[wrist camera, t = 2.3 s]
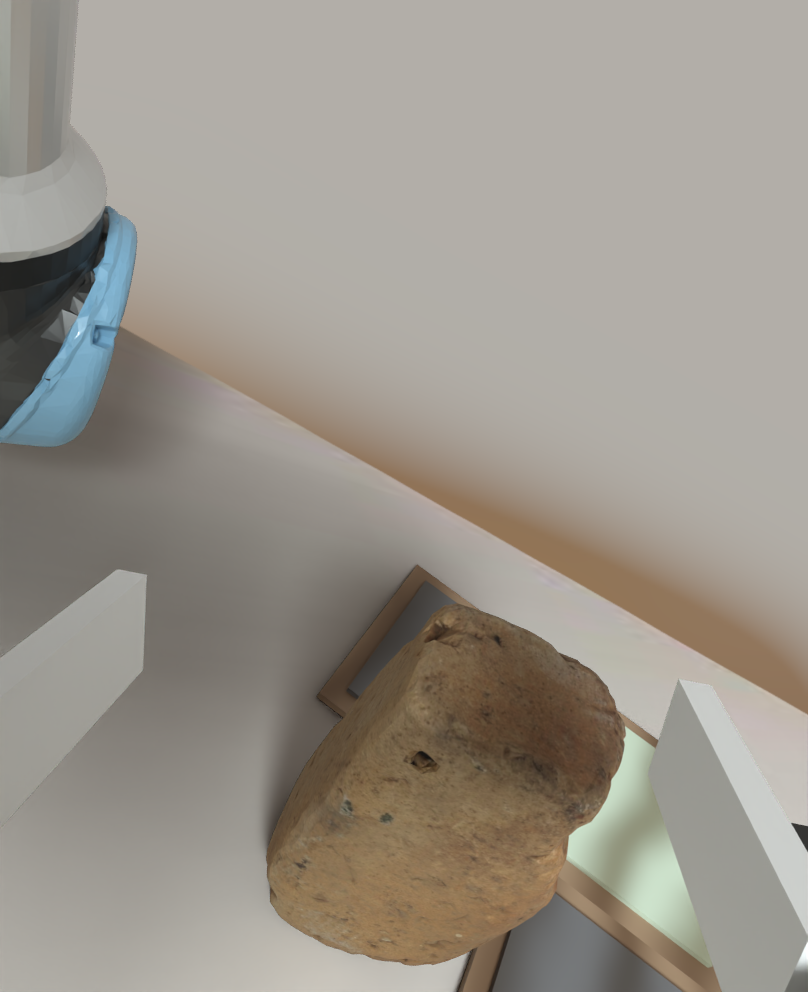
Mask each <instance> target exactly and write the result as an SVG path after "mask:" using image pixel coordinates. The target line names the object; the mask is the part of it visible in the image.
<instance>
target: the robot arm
mask: <svg viewBox="0 0 808 992" xmlns="http://www.w3.org/2000/svg"><path fill="white" fill-rule="evenodd" d="M78 2H79V0H0V443H10V444H20V445H30V446H40V447H56V446H60V445H63V444H66V443H68V442H70V441H72V440H73V439H74V438H76V437H77V436H78V435H79V434H80V433H81V432H82V431H83V429H84V428H85V426H86V425H87V423H88V421H89V419H90V417H91V415H92V413H93V411H94V409H95V406H96V403H97V401H98V398H99V396H100V393H101V390H102V387H103V384H104V381H105V378H106V375H107V372H108V369H109V365H110V362H111V358H112V355H113V350H114V338H115V337H116V336H117V334H118V330H119V326H120V322H121V320H122V317H123V314H124V311H125V307H126V303H127V298H128V294H129V289H130V285H131V280H132V275H133V270H134V264H135V257H136V247H137V232H136V228H135V226H134V224H133V223H132V222H131V221H130V220H129V219H127V218H126V217H124V216H122V215H119V214H118V213H117V212H116V211H115V210H114V209H112V208H111V207H110V206H105V205H106V196H107V187H106V181H105V175H104V172H103V168H102V166H101V164H100V162H99V160H98V158H97V156H96V154H95V153H94V151H93V150H92V149H91V147H90V146H89V145H88V143H87V142H86V141H85V140H84V138H83V137H82V136H81V135H80V134H79V133H78V132H77V131H76V130H75V129H74V128H73V127H72V126H71V125H70V113H71V99H72V85H73V71H74V58H75V44H76V29H77V16H78ZM146 582H147V575H145V574H140V573H135V572H130V571H125V570H120V569H117V570H115V571H114V572H113V573H111V574H110V575H109V576H107V577H106V578H105V579H104V580H102V581H101V582H100V583H98V584H97V585H96V586H94V587H93V588H92V589H90V590H89V591H88V592H86V593H85V594H84V595H82V596H81V597H80V598H78V599H77V600H76V601H74V602H73V603H72V604H70V605H69V606H68V607H67V608H65V609H64V610H63V611H61V612H60V613H59V614H57V615H56V616H55V617H53V618H52V619H51V620H49V621H48V622H47V623H45V624H44V625H43V626H41V627H40V628H39V629H37V630H36V631H35V632H34V633H32V634H31V635H30V636H28V637H27V638H26V639H24V640H23V641H22V642H20V643H19V644H18V645H16V646H15V647H14V648H12V649H11V650H10V651H8V652H7V653H6V654H4V655H3V656H2V657H0V829H1V827H2V826H3V825H4V824H5V823H6V822H7V821H8V820H9V819H10V817H11V816H12V815H13V814H14V813H15V812H16V811H17V810H18V809H19V807H20V806H21V805H22V804H23V803H24V802H25V801H26V800H27V799H28V797H29V796H30V795H31V794H32V793H33V792H34V791H35V790H36V789H37V787H38V786H39V785H40V784H41V783H42V782H43V781H44V780H45V779H46V777H47V776H48V775H49V774H50V773H51V772H52V771H53V770H54V769H55V767H56V766H57V765H58V764H59V763H60V762H61V761H62V760H63V759H64V757H65V756H66V755H67V754H68V753H69V752H70V751H71V750H72V749H73V747H74V746H75V745H76V744H77V743H78V742H79V741H80V740H81V739H82V737H83V736H84V735H85V734H86V733H87V732H88V731H89V730H90V729H91V727H92V726H93V725H94V724H95V723H96V722H97V721H98V720H99V719H100V717H101V716H102V715H103V714H104V713H105V712H106V711H107V710H108V709H109V707H110V706H111V705H112V704H113V703H114V702H115V701H116V700H117V699H118V697H119V696H120V695H121V694H122V693H123V692H124V691H125V690H126V689H127V687H128V686H129V685H130V684H131V683H132V682H133V681H134V680H135V679H136V677H137V676H138V675H139V674H140V673H141V672H142V671H143V662H144V636H145V609H146ZM648 776H649V779H650V782H651V785H652V788H653V791H654V794H655V797H656V800H657V803H658V805H659V808H660V811H661V814H662V817H663V820H664V823H665V826H666V829H667V832H668V835H669V838H670V841H671V844H672V847H673V850H674V853H675V855H676V858H677V861H678V864H679V867H680V870H681V873H682V876H683V879H684V882H685V885H686V888H687V891H688V894H689V897H690V900H691V903H692V905H693V908H694V911H695V914H696V917H697V920H698V923H699V926H700V929H701V932H702V935H703V938H704V941H705V944H706V947H707V950H708V953H709V955H710V958H711V961H712V964H713V967H714V970H715V973H716V976H717V979H718V982H719V985H720V988H721V991H722V992H808V826H804V825H799V824H794V823H791V822H790V821H789V819H788V817H787V815H786V814H785V812H784V810H783V808H782V807H781V805H780V803H779V801H778V800H777V798H776V796H775V795H774V793H773V791H772V789H771V788H770V786H769V784H768V782H767V781H766V779H765V777H764V776H763V774H762V772H761V770H760V769H759V767H758V765H757V763H756V762H755V760H754V758H753V756H752V755H751V753H750V751H749V750H748V748H747V746H746V744H745V743H744V741H743V739H742V737H741V736H740V734H739V732H738V731H737V729H736V727H735V725H734V724H733V722H732V720H731V718H730V717H729V715H728V713H727V712H726V710H725V708H724V706H723V705H722V703H721V701H720V699H719V698H718V696H717V694H716V692H715V691H714V689H713V687H712V686H711V685H707V684H702V683H697V682H692V681H687V680H682V679H678V682H677V685H676V688H675V691H674V694H673V697H672V701H671V704H670V707H669V710H668V713H667V716H666V719H665V722H664V725H663V728H662V731H661V734H660V737H659V740H658V743H657V746H656V749H655V753H654V756H653V759H652V762H651V765H650V768H649V771H648Z"/></svg>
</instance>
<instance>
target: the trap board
mask: <svg viewBox="0 0 808 992" xmlns="http://www.w3.org/2000/svg"><path fill="white" fill-rule="evenodd" d="M456 603H458V604H461V605H464V606H467V607H470V608H473V609H476V610H479V609H477V608H476V607H475V606H473V605H472V604H470V603H469V602H468V601H466V600H465V599H464V598H462V597H461V596H459V595H458V594H457V593H455V592H454V591H453V590H451V589H450V588H449V587H447V586H446V585H444V584H443V583H442V582H440V581H439V580H438V579H436V578H435V577H433V576H432V575H431V574H429V573H428V572H427V571H425V570H424V569H423V568H421V567H420V566H418V565H417V566H416V567H415V569H414V570H413V571H412V572H411V574H410V575H409V576H408V578H407V579H406V580H405V582H404V583H403V584H402V585H401V587H400V588H399V589H398V591H397V592H396V593H395V595H394V596H393V597H392V598H391V600H390V601H389V602H388V604H387V605H386V606H385V608H384V609H383V610H382V611H381V613H380V614H379V615H378V617H377V618H376V619H375V621H374V622H373V623H372V624H371V626H370V627H369V628H368V630H367V631H366V632H365V634H364V635H363V636H362V638H361V639H360V640H359V641H358V643H357V644H356V645H355V647H354V648H353V649H352V651H351V652H350V653H349V654H348V656H347V657H346V658H345V660H344V661H343V662H342V664H341V665H340V666H339V667H338V669H337V670H336V671H335V673H334V674H333V675H332V677H331V678H330V679H329V680H328V682H327V683H326V684H325V686H324V687H323V688H322V690H321V691H320V692H319V694H318V695H317V698H318V699H320V700H321V701H322V702H323V703H325V704H326V705H327V706H329V707H330V708H331V709H333V710H334V711H335V712H336V713H338V714H339V715H340V716H342V717H343V718H344V716H345V715H346V714H347V712H348V711H349V710H350V708H351V707H352V706H353V704H354V703H355V702H356V700H357V699H358V698H359V696H360V695H361V694H362V693H363V691H364V690H365V689H366V688H367V687H368V686H369V684H370V683H371V682H372V681H373V680H374V678H375V677H376V676H377V675H378V674H379V672H380V671H381V670H382V669H383V668H384V667H385V666H386V665H387V663H388V662H389V661H390V660H391V659H392V658H393V657H394V656H395V655H396V654H397V653H398V652H399V651H400V650H401V649H402V647H403V646H404V645H406V644H407V643H409V642H410V641H412V640H414V638H415V637H416V636H417V635H418V633H419V632H420V631H421V629H422V628H423V627H424V625H425V624H426V623H427V621H428V620H429V618H430V617H431V615H432V614H433V613H435V612H436V611H437V610H439V609H440V608H442V607H443V606H445V605H450V604H456ZM479 611H480V610H479ZM617 712H618V711H617ZM618 714H619V715H620V717H621V718H622V720H623V722H624V724H625V730H626V736H625V738H624V743H625V747H624V752H623V757H622V761H621V764H620V767H619V769H618V771H617V773H616V774H615V776H614V777H613V778H612V780H611V788H610V791H609V794H608V797H607V799H606V801H605V803H604V804H603V806H602V808H601V810H600V811H599V813H598V814H597V815H596V816H595V818H594V819H593V820H592V822H590V823H588V824H586V825H583V826H581V827H579V828H577V829H576V830H575V831H574V832H573V833H572V834H571V835H569V841H568V851H567V858H566V861H565V863H564V865H563V867H562V869H561V871H560V872H559V875H558V880H557V889H556V891H555V893H554V895H553V897H552V899H551V901H550V902H549V903H548V904H547V905H546V906H545V907H543V908H542V909H541V910H540V911H538V912H537V913H536V914H535V915H534V916H533V917H531V918H529V919H528V920H526V921H524V922H523V923H521V924H520V925H518V926H517V927H515V928H513V929H511V930H509V931H508V932H506V933H504V934H502V935H500V936H497V937H496V938H494V939H492V940H490V941H489V942H487V943H485V944H483V945H481V946H478V947H476V948H474V949H473V951H472V954H471V956H470V959H469V962H468V965H467V968H466V971H465V973H464V976H463V979H462V982H461V985H460V988H459V990H458V992H722V991H721V988H720V985H719V982H718V979H717V976H716V973H715V970H714V967H713V964H712V961H711V958H710V955H709V953H708V950H707V947H706V944H705V941H704V938H703V935H702V932H701V929H700V926H699V923H698V920H697V917H696V914H695V911H694V908H693V905H692V903H691V900H690V897H689V894H688V891H687V888H686V885H685V882H684V879H683V876H682V873H681V870H680V867H679V864H678V861H677V858H676V855H675V853H674V850H673V847H672V844H671V841H670V838H669V835H668V832H667V829H666V826H665V823H664V820H663V817H662V814H661V811H660V808H659V805H658V803H657V800H656V797H655V794H654V791H653V788H652V785H651V782H650V779H649V776H648V771H649V768H650V765H651V762H652V759H653V756H654V753H655V749H656V746H657V743H658V740H657V739H655V738H654V737H652V736H651V735H650V734H648V733H647V732H646V731H644V730H643V729H641V728H640V727H639V726H637V725H636V724H635V723H633V722H632V721H631V720H629V719H628V718H626V717H625V716H624V715H622V714H621V713H620V712H618Z"/></svg>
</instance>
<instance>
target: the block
mask: <svg viewBox="0 0 808 992" xmlns="http://www.w3.org/2000/svg"><path fill="white" fill-rule="evenodd" d="M625 736H626V730H625V724H624V722H623V720H622V718H621V717H620V715H619V714H618V712H617V709H616V705H615V701H614V699H613V698H612V696H611V695H610V693H609V690H608V687H607V686H606V685H605V684H604V683H603V681H602V680H601V679H600V678H599V676H598V675H597V674H596V673H595V672H593V671H592V670H591V669H589V668H588V667H586V666H584V665H582V664H581V663H580V662H579V661H578V660H576V659H573V658H571V657H568V656H566V655H563V654H561V653H558V652H557V650H556V649H555V648H554V647H553V646H552V645H551V644H549V643H548V642H546V641H545V640H543V639H542V638H540V637H539V636H537V635H535V634H533V633H532V632H530V631H528V630H526V629H523V628H521V627H518V626H516V625H513V624H511V623H509V622H507V621H505V620H503V619H501V618H499V617H496V616H493V615H490V614H488V613H485V612H482V611H479V610H476V609H473V608H470V607H467V606H464V605H461V604H458V603H456V604H450V605H445V606H443V607H442V608H440V609H439V610H437V611H436V612H435V613H433V614H432V615H431V617H430V618H429V620H428V621H427V623H426V624H425V625H424V627H423V628H422V629H421V631H420V632H419V633H418V635H417V636H416V637H415V638H414V640H412V641H410V642H409V643H407V644H406V645H404V646H403V647H402V649H401V650H400V651H399V652H398V653H397V654H396V655H395V656H394V657H393V658H392V659H391V660H390V661H389V662H388V663H387V665H386V666H385V667H384V668H383V669H382V670H381V671H380V672H379V674H378V675H377V676H376V677H375V678H374V680H373V681H372V682H371V683H370V684H369V686H368V687H367V688H366V689H365V690H364V691H363V693H362V694H361V695H360V696H359V698H358V699H357V700H356V702H355V703H354V704H353V706H352V707H351V708H350V710H349V711H348V712H347V714H346V715H345V716H344V718H343V719H342V720H341V721H340V722H339V723H338V724H336V725H335V726H334V728H333V729H332V730H331V731H330V733H329V734H328V735H327V737H326V738H325V739H324V740H323V742H322V743H321V744H320V746H319V747H318V748H317V750H316V751H315V752H314V754H313V755H312V757H311V758H310V759H309V761H308V762H307V764H306V765H305V767H304V769H303V771H302V772H301V774H300V776H299V778H298V780H297V782H296V784H295V786H294V788H293V790H292V792H291V794H290V796H289V798H288V801H287V803H286V805H285V807H284V810H283V812H282V814H281V816H280V818H279V820H278V823H277V825H276V828H275V830H274V832H273V835H272V838H271V841H270V843H269V846H268V849H267V856H266V861H267V864H268V866H267V878H268V881H269V883H270V902H271V904H272V905H273V907H274V908H275V910H276V912H277V913H278V915H279V916H280V917H281V918H282V919H284V920H285V921H286V922H287V923H289V924H290V925H291V926H293V927H295V928H296V929H298V930H300V931H301V932H303V933H304V934H306V935H308V936H311V937H313V938H315V939H316V940H318V941H320V942H321V943H323V944H325V945H326V946H330V947H333V948H336V949H340V950H343V951H345V952H347V953H350V954H363V955H366V956H368V957H370V958H372V959H376V960H381V961H392V962H401V963H402V964H404V965H410V966H416V965H424V964H432V965H434V964H438V963H441V962H445V961H448V960H451V959H453V958H456V957H458V956H461V955H463V954H465V953H467V952H469V951H470V950H472V949H474V948H476V947H478V946H481V945H483V944H485V943H487V942H489V941H490V940H492V939H494V938H496V937H497V936H500V935H502V934H504V933H506V932H508V931H509V930H511V929H513V928H515V927H517V926H518V925H520V924H521V923H523V922H524V921H526V920H528V919H529V918H531V917H533V916H534V915H535V914H536V913H537V912H538V911H540V910H541V909H542V908H543V907H545V906H546V905H547V904H548V903H549V902H550V901H551V899H552V897H553V895H554V893H555V891H556V889H557V880H558V875H559V872H560V871H561V869H562V867H563V865H564V863H565V861H566V858H567V851H568V841H569V835H571V834H572V833H573V832H574V831H575V830H576V829H577V828H579V827H581V826H583V825H586V824H588V823H590V822H592V820H593V819H594V818H595V816H596V815H597V814H598V813H599V811H600V810H601V808H602V806H603V804H604V803H605V801H606V799H607V797H608V794H609V791H610V788H611V780H612V778H613V777H614V776H615V774H616V773H617V771H618V769H619V767H620V764H621V761H622V757H623V752H624V747H625V743H624V738H625Z"/></svg>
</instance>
